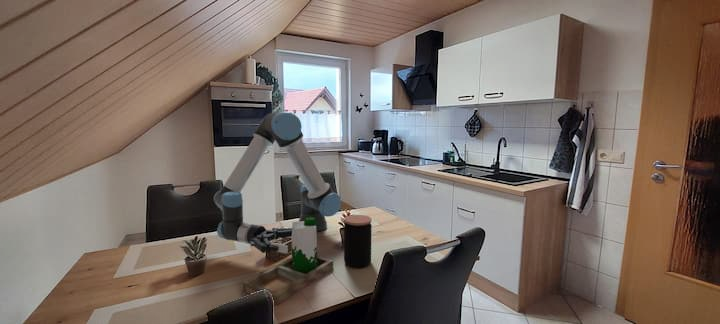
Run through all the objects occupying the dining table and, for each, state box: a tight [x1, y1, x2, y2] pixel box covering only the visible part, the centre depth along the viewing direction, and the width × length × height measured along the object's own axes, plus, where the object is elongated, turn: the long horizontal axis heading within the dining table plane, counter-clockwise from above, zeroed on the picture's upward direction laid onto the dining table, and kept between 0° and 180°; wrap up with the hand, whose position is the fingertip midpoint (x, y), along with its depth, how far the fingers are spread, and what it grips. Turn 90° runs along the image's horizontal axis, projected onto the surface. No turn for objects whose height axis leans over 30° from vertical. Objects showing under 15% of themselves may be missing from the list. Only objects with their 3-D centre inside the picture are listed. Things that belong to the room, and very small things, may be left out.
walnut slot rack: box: [242, 255, 334, 306], centre depth 106 cm, size 28×15×3 cm, turn 148°
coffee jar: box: [343, 214, 372, 269], centre depth 118 cm, size 11×11×18 cm
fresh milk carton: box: [291, 217, 318, 274], centre depth 111 cm, size 9×9×20 cm
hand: (298, 242), depth 111 cm, fingers open, 13 cm apart
